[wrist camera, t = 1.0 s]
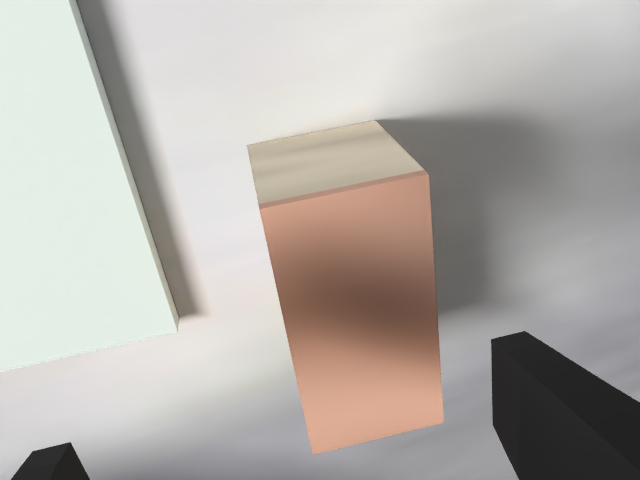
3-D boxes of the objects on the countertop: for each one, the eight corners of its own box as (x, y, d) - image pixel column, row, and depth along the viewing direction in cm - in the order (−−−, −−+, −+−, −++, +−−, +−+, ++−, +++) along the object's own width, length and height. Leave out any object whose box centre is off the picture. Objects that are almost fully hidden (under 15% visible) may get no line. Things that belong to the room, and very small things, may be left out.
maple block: (395, 325, 21) (444, 422, 17) (291, 349, 21) (313, 454, 17) (373, 118, 18) (428, 174, 13) (246, 144, 17) (259, 209, 13)
